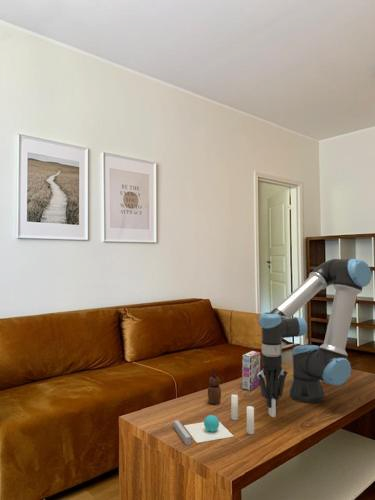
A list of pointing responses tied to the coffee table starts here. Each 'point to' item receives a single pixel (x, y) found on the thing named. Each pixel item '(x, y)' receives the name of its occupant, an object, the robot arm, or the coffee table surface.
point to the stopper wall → (182, 432)
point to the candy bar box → (250, 370)
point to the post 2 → (250, 420)
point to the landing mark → (207, 432)
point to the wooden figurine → (214, 389)
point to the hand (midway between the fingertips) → (272, 415)
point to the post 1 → (234, 407)
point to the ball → (211, 423)
